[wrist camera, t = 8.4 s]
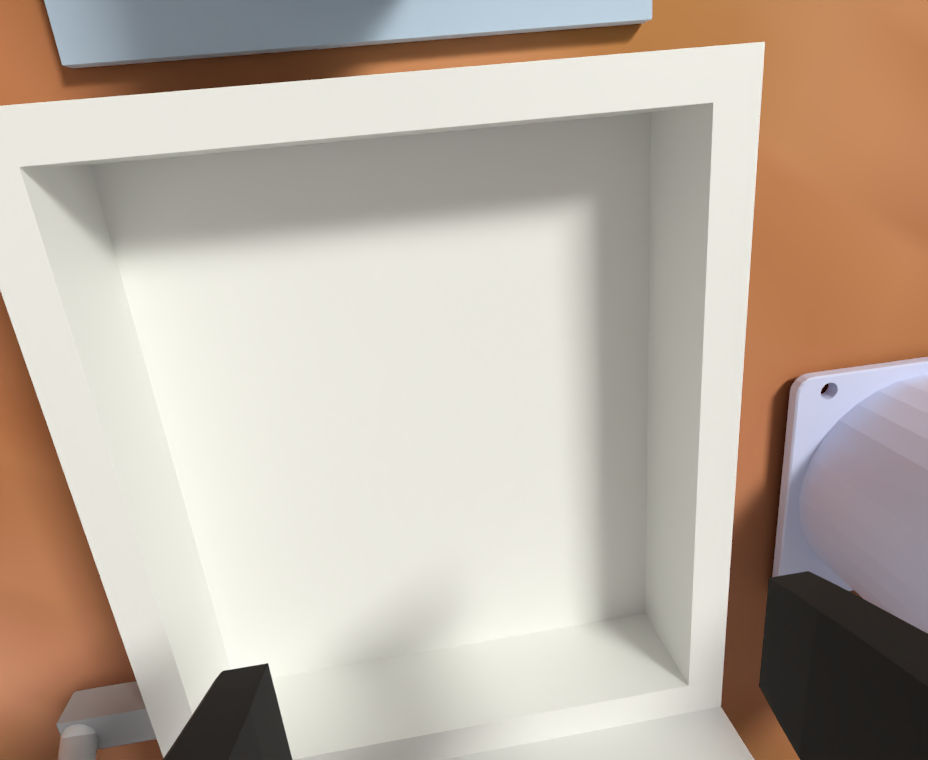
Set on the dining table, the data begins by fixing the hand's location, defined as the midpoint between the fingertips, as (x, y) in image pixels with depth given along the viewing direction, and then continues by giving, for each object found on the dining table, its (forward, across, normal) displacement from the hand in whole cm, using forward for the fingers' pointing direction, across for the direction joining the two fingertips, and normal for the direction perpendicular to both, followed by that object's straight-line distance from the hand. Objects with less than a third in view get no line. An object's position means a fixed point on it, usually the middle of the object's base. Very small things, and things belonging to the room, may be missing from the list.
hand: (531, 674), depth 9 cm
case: (+9, +2, +1) cm, 10 cm away
